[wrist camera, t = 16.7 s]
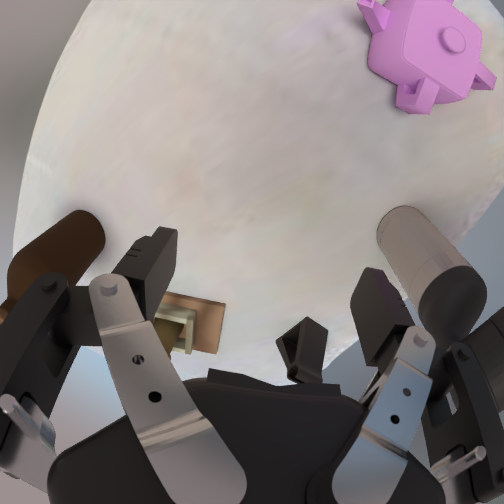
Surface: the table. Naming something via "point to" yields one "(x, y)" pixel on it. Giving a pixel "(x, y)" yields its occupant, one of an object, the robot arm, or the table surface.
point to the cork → (168, 333)
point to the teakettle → (425, 52)
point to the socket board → (193, 321)
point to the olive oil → (55, 255)
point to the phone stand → (304, 351)
